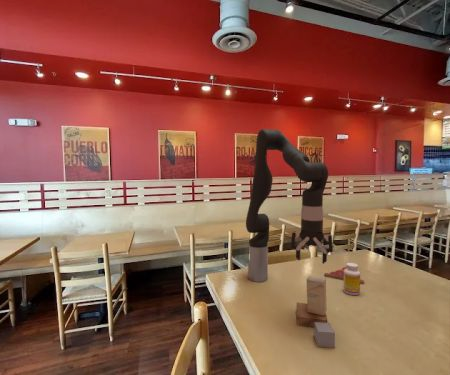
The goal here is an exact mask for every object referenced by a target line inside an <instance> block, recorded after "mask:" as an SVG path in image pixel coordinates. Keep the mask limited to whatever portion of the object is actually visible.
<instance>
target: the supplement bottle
mask: <svg viewBox="0 0 450 375" xmlns="http://www.w3.org/2000/svg"><path fill="white" fill-rule="evenodd" d="M345 267H347V268H346V269H345V270H344V280H343V292H344V293H346V294H347V295H351V296H358V295H360V293H361V284H360V279H361V272H360V270H359V265H358V264H357V263H355V262H347V263H346V266H345Z"/></svg>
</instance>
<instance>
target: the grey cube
mask: <svg viewBox="0 0 450 375" xmlns="http://www.w3.org/2000/svg"><path fill="white" fill-rule="evenodd" d="M313 329H314V339H315V341H316V344H317V347H318V346H323V347H322V348H331V347H335V346H336V332H335V329H334V328H333V326H332V323H330V322H327V323H319V322H315V328H313Z"/></svg>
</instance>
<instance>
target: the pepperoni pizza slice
mask: <svg viewBox="0 0 450 375" xmlns="http://www.w3.org/2000/svg"><path fill="white" fill-rule="evenodd" d="M346 268H347V267H346V266H345V267H342V268H339V269H337V270H335V271H331V272H330V273H329V272H324V274H323V276H324V278H329V279H330V278H331V279H333V280H341V281H344V270H345V269H346ZM364 284H365V279H362V278H360V285H364Z"/></svg>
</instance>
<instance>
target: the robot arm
mask: <svg viewBox="0 0 450 375" xmlns="http://www.w3.org/2000/svg"><path fill="white" fill-rule="evenodd" d="M255 146H256V147H255V161H254V162H255V164H254V171H253V177H252V183H251V193H250V199H249V200H250V201H249V206H248V210H247V214H246V219H245V228H246V230H247V232H248V233H250V234H256V235H255V236H253V237H251V238H250V239H249V242H248V243H249V244H248V245H249V247H248V248H249V249H248V250H249V252H248V253H249V255H248V256H249V260H248V261H247V263H248V265H247V267H248V268H247V273H248V274H247V276H248V278H247V279H248V280H251V281H253V282H256V283H257V282H258V283H259V282H260V283H262V282H263V283H264V282H266V281H268V277H269V276H268V274H269V273H268V270H269V269H268V268H269V267H268V262H269V261H268V258H269V257H268V252H269V250H268V244H269V240H270V239H269V238H270V218H269V216H268V215H267V214H266V213H259V210H260V209H261V207H262V205H263V204H264V202H265V201H266V200H267V199H268V197H269V195H270V194H271V192H272V187H273V181H274V179H273V175H272V172H271V169H270V167H269V165H268V163H267V151H275V150H276V151H279V152H281V153H282V159H283V160H284V162H285V163H286V164H287V165H288V166H289V167H290V168H291V169H292V170H293V171H294V173H295V175H296V177H297V178H298V180H300V181H302V182H304V183H311V185H310V186H309V188H306V189H303V191H302V194H301V197H302V199H301V200H302V201H301V212H300V215H301V217H300V232H296V231H295V230H294V231H292V233H291V243H290V247H291V249H294V250H295V258H296V259H297V261H300V260H301V248H303V246H304V245H306V246H312V247H316V246H317V247H319V249H320V250H321V251H322V264H325V263H327V258H328V254H329V253H331V254H332V253H333V235H332V234H330V233H329V234H324V233H323V232H324V229H323V228H324V208H323V206H324V205H323V204H324V203H323V201H324V199H323V198H324V192H325V190H326V186H327V184H328V183H327V181H328V178H329V169H328V166H327V165H326V164H325V163H324V162H311V161H310V158H309V157H308V155H307V154H305V152H303V151H301V150H300V149H298V148H297V147H296V146H294V145H293V143H292V142H291V141H290V140H289V139H288V138H287V137H286V135H285V134H284V133H283V132H282V131H280V130H279V129H270V128H262V129H260V130H259V132H258V133H257V136H256V144H255ZM298 237H299V238H300V239H301V241H300V242H299V243H298V244H296V242H297V241H296V239H298ZM324 239H325V241H326V242H328V247H326V246H325V245H324V243H323V242H322V241H323V240H324Z"/></svg>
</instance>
